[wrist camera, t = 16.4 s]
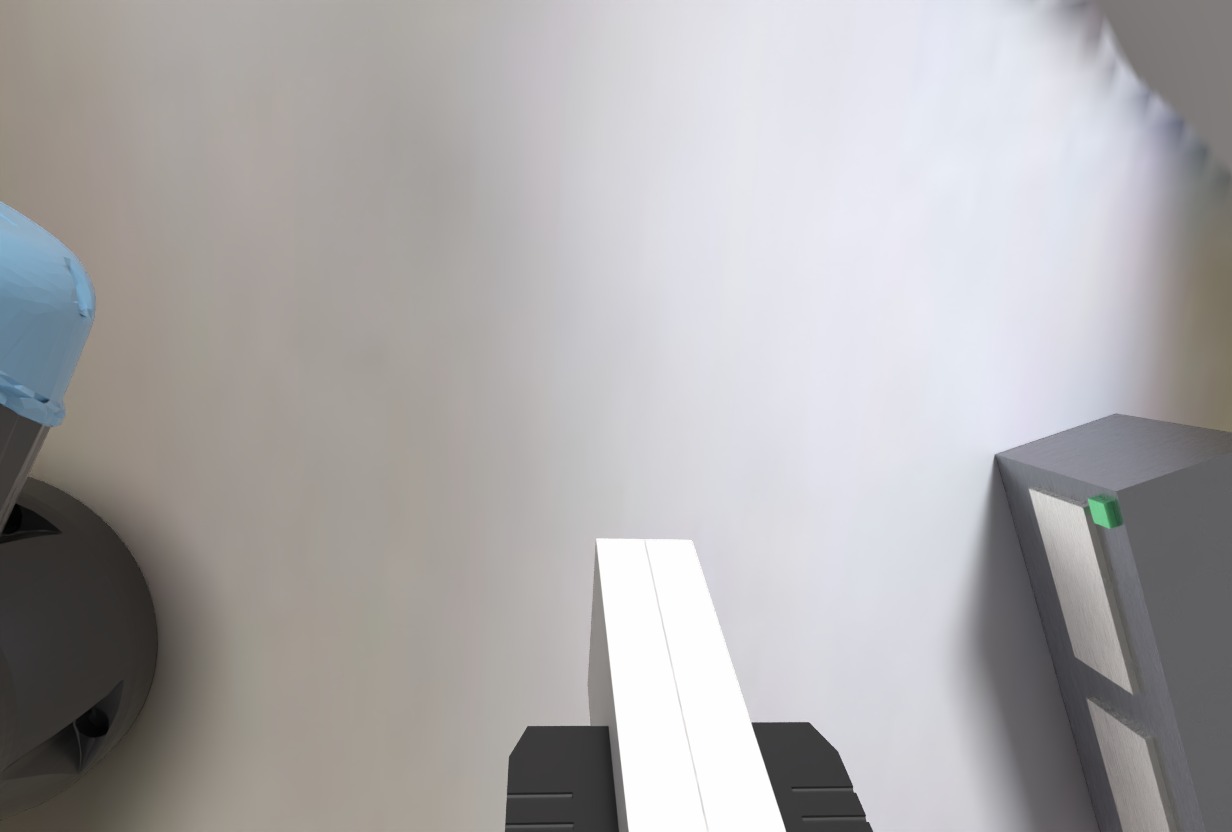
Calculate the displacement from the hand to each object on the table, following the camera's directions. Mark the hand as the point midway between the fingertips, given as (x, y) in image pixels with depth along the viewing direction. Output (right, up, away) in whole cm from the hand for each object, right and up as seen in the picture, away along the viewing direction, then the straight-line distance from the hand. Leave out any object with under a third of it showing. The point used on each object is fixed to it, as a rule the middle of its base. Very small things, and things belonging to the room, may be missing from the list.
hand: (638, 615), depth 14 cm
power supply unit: (+23, -7, +28) cm, 37 cm away
